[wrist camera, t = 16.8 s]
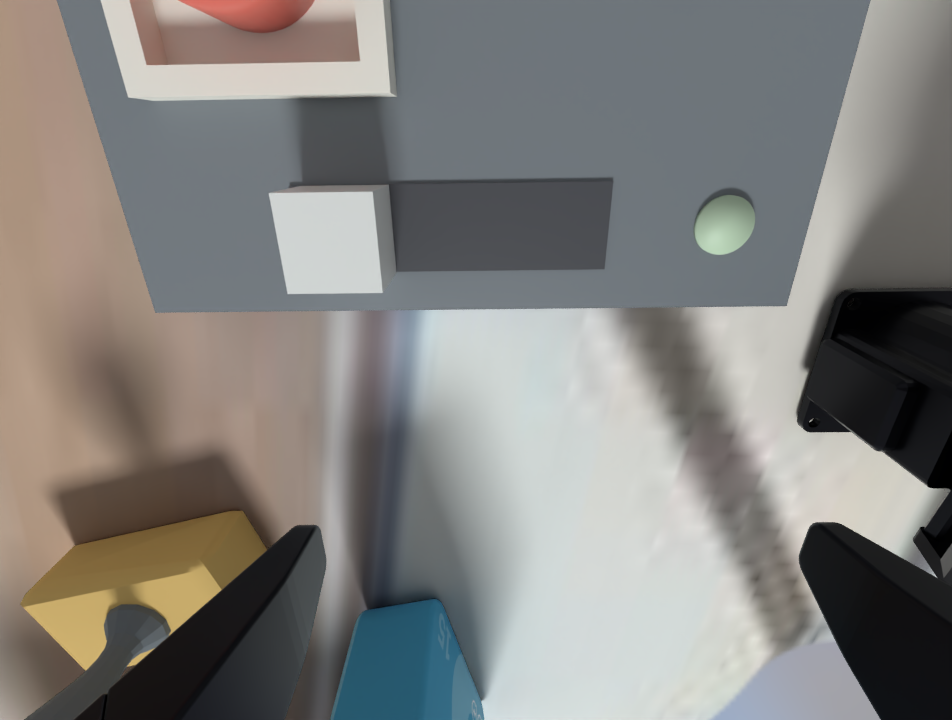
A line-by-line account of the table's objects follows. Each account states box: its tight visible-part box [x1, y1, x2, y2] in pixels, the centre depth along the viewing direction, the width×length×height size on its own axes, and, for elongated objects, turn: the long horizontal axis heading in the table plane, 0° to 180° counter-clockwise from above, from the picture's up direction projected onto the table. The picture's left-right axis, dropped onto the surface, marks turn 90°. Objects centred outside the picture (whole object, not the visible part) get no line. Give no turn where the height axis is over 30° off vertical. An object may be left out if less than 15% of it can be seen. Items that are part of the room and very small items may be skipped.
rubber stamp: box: [20, 511, 267, 720], centre depth 20 cm, size 10×6×12 cm, turn 106°
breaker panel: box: [57, 0, 870, 313], centre depth 14 cm, size 24×17×3 cm
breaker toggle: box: [269, 185, 396, 294], centre depth 15 cm, size 3×3×3 cm
